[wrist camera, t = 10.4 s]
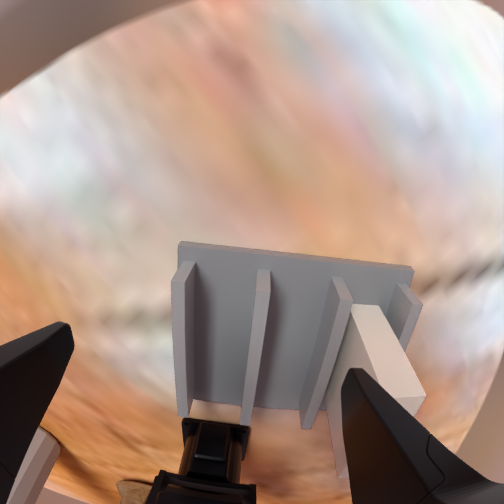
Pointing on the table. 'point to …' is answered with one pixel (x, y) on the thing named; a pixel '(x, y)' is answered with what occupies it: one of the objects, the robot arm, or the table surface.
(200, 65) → the table surface
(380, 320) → the beige upright tile
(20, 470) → the water bottle
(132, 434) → the table surface
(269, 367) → the dish rack
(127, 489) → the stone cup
